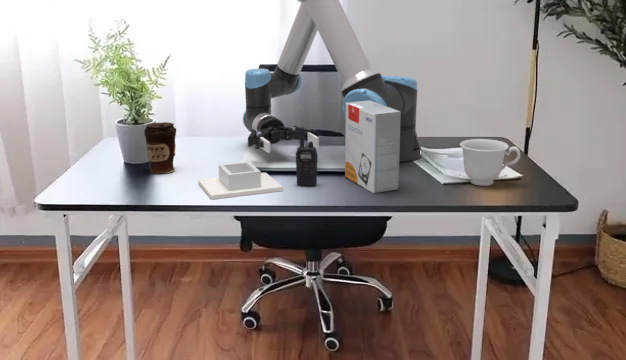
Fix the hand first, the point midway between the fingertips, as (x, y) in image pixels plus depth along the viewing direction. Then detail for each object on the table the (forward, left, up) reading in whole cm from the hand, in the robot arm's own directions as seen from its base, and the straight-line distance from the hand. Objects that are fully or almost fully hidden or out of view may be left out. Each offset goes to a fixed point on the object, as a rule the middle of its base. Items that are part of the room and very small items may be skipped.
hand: (293, 145), depth 193 cm
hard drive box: (-18, +12, -8) cm, 23 cm away
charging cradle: (+15, +8, -8) cm, 19 cm away
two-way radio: (-2, +9, -8) cm, 12 cm away
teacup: (-47, +18, -8) cm, 51 cm away
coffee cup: (+34, -11, -8) cm, 37 cm away
